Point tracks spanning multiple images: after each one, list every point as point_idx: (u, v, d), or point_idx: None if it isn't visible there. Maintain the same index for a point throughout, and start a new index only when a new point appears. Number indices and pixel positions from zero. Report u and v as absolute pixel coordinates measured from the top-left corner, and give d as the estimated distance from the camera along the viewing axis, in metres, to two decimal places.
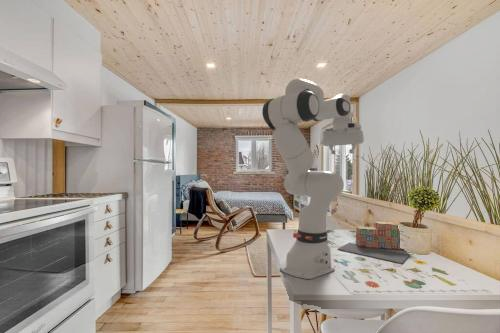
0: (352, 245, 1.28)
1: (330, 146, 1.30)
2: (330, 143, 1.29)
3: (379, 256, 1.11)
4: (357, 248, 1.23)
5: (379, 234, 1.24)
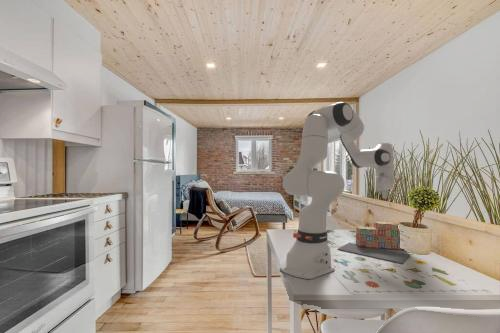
0: (352, 245, 1.28)
1: (386, 190, 1.33)
2: (385, 188, 1.30)
3: (379, 256, 1.11)
4: (357, 248, 1.23)
5: (379, 234, 1.24)
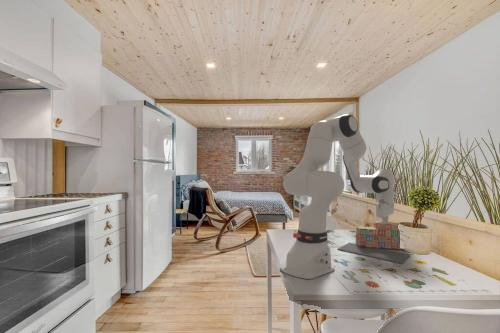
0: (352, 245, 1.28)
1: (386, 217, 1.33)
2: (385, 215, 1.30)
3: (379, 256, 1.11)
4: (357, 248, 1.23)
5: (379, 234, 1.24)
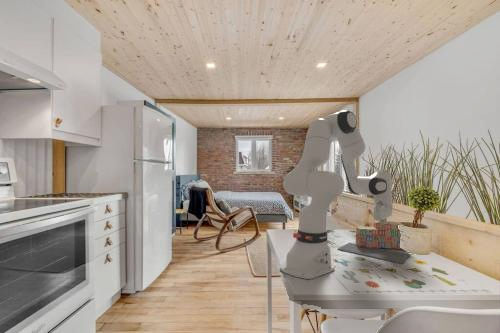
0: (352, 245, 1.28)
1: (384, 219, 1.30)
2: (383, 217, 1.27)
3: (379, 256, 1.11)
4: (357, 248, 1.23)
5: (379, 234, 1.24)
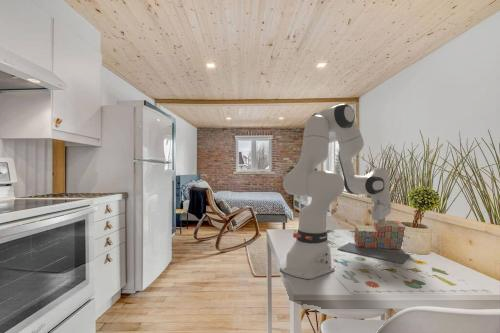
0: (352, 245, 1.28)
1: (383, 218, 1.26)
2: (382, 217, 1.23)
3: (379, 256, 1.11)
4: (357, 248, 1.23)
5: (378, 236, 1.22)
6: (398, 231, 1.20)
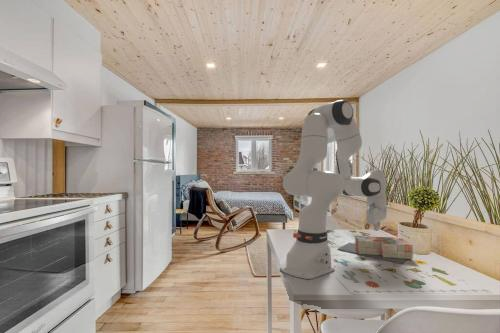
0: (352, 245, 1.28)
1: (377, 222, 1.22)
2: (377, 221, 1.19)
3: (379, 256, 1.11)
4: None
5: None
6: None
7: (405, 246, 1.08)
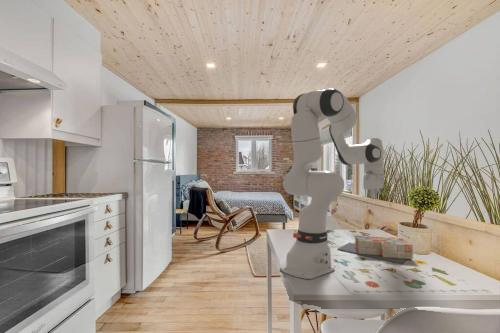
0: (352, 245, 1.28)
1: (374, 190, 1.23)
2: (374, 187, 1.20)
3: (379, 256, 1.11)
4: None
5: None
6: None
7: (405, 246, 1.08)
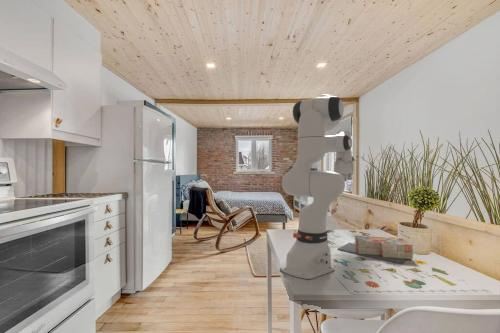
0: (352, 245, 1.28)
1: (344, 174, 1.45)
2: (343, 172, 1.42)
3: (379, 256, 1.11)
4: None
5: None
6: None
7: (405, 246, 1.08)
